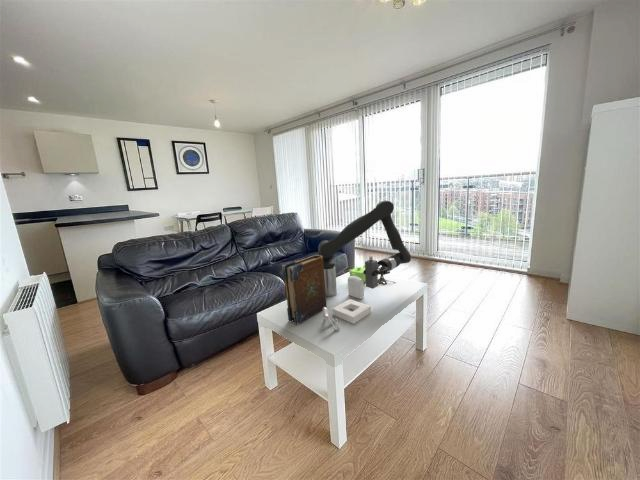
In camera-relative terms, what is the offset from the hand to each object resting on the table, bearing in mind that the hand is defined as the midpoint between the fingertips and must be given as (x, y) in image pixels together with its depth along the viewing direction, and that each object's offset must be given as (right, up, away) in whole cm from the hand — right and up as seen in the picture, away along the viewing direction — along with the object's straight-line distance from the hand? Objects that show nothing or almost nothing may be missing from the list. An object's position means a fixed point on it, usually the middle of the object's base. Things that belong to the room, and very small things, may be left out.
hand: (368, 273), depth 132 cm
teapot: (+2, -12, +41) cm, 43 cm away
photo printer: (-3, -16, +20) cm, 26 cm away
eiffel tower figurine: (+17, -12, +38) cm, 43 cm away
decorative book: (-31, -22, +4) cm, 38 cm away
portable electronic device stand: (-20, -24, -10) cm, 33 cm away
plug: (+3, -7, +3) cm, 8 cm away
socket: (-9, -21, +1) cm, 23 cm away
